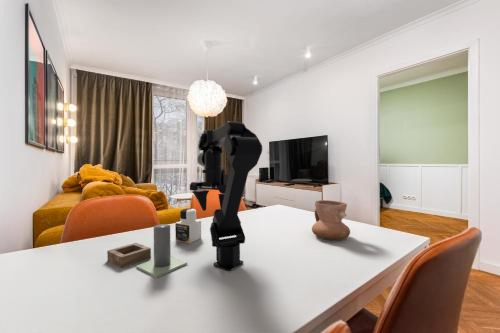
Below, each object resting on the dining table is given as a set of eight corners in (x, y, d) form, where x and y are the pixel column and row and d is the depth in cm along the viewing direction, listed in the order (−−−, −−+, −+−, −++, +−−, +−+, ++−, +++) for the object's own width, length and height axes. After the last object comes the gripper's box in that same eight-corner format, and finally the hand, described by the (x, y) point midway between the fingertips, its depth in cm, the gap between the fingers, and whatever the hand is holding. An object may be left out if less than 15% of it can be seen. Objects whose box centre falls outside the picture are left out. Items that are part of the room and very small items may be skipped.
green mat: (187, 264, 68) (187, 262, 68) (156, 277, 60) (156, 275, 60) (167, 256, 74) (167, 254, 74) (136, 267, 66) (136, 265, 66)
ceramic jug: (361, 242, 87) (360, 204, 87) (327, 246, 82) (327, 206, 83) (331, 230, 104) (331, 198, 104) (302, 232, 100) (302, 199, 100)
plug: (173, 262, 68) (173, 225, 68) (162, 268, 64) (161, 229, 64) (162, 259, 70) (162, 223, 70) (150, 265, 66) (150, 227, 66)
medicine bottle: (175, 240, 90) (174, 209, 90) (188, 235, 96) (187, 206, 96) (189, 243, 86) (188, 211, 86) (201, 238, 93) (201, 208, 92)
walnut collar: (150, 257, 74) (150, 248, 74) (121, 267, 66) (121, 257, 66) (136, 251, 79) (136, 242, 79) (107, 260, 72) (107, 250, 72)
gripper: (249, 166, 81) (249, 211, 81) (211, 166, 92) (211, 205, 92) (227, 167, 72) (227, 217, 72) (188, 166, 83) (188, 210, 83)
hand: (213, 212), depth 80 cm, fingers open, 9 cm apart
